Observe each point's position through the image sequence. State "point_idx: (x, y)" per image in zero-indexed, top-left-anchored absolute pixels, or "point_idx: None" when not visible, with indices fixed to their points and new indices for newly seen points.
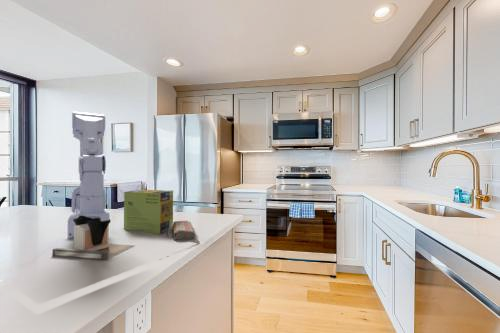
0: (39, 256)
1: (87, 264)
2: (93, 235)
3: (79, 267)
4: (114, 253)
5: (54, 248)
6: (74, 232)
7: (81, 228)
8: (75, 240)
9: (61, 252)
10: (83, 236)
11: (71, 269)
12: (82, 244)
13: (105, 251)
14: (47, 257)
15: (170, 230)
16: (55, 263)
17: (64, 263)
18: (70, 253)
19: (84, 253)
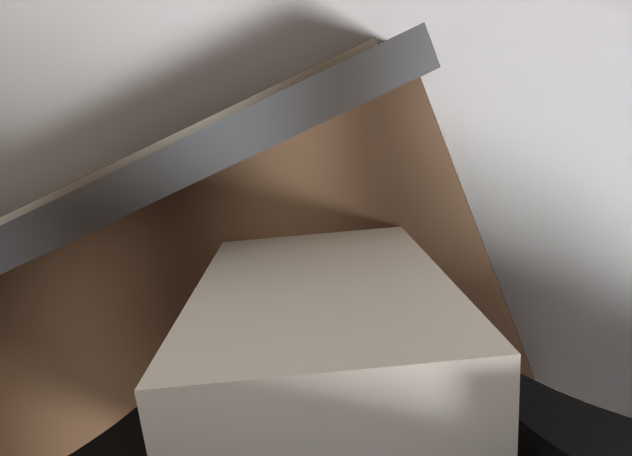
0: (622, 4)
1: (37, 197)
2: (119, 420)
3: (9, 129)
4: (12, 411)
5: (429, 45)
6: (451, 300)
7: (209, 377)
8: (390, 263)
9: (293, 78)
10: (180, 320)
11: (8, 68)
12: (219, 272)
13: (131, 388)
14: (524, 43)
15: None
16: (283, 33)
17: (218, 84)
18: (187, 129)
19: (24, 206)
